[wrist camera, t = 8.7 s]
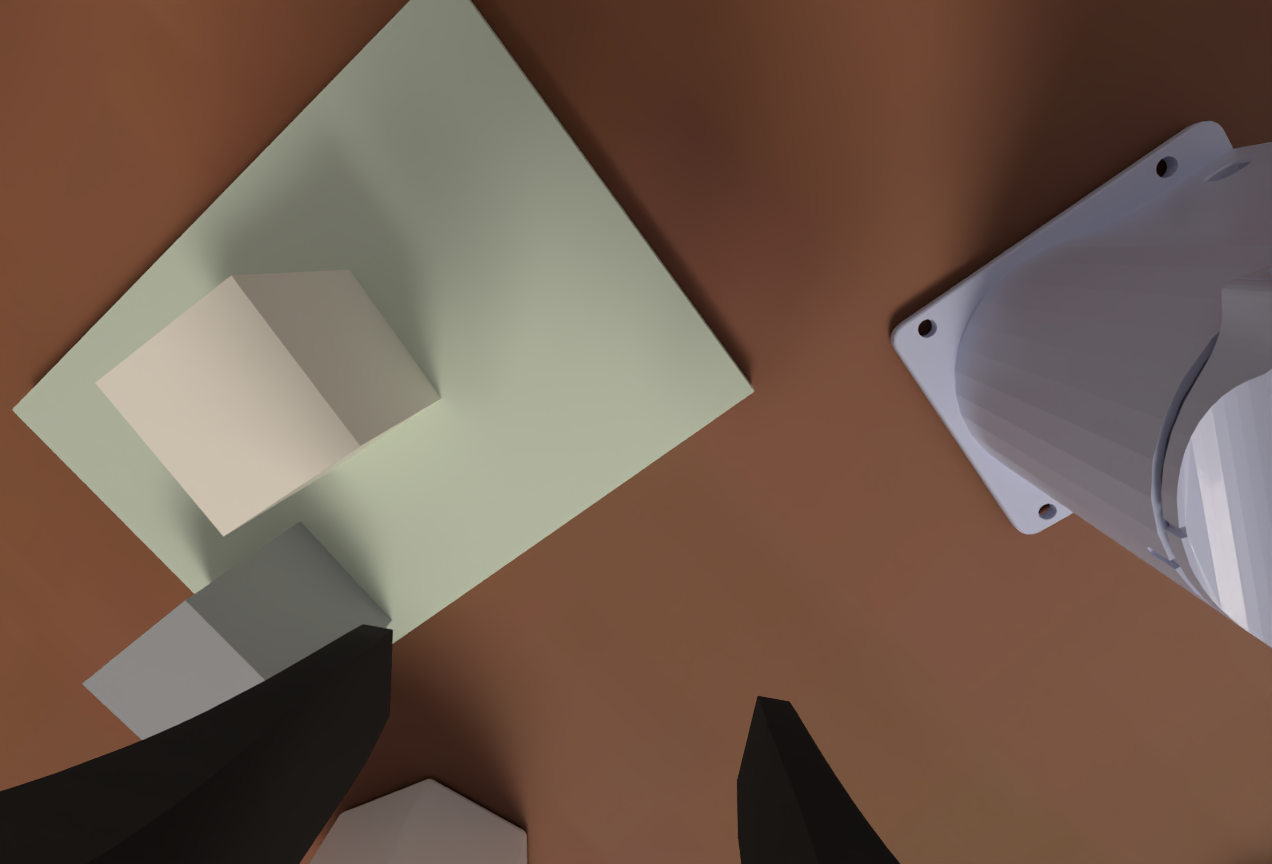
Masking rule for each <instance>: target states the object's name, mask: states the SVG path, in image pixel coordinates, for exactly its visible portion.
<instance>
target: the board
mask: <svg viewBox="0 0 1272 864" xmlns="http://www.w3.org/2000/svg"><path fill="white" fill-rule="evenodd" d="M331 270H350V271H351V272H352V274H353V275H354V277H355V278H356V279H357V281H358V282H359V284H360V285H361V286H362V288H363V289H364V291H365V292H366V293H367V295H368V296H369V298H370V299H371V300H372V302H373V303H374V305H375V306H376V307H377V309H378V310H379V312H380V313H381V314H382V316H383V317H384V319H385V320H386V321H387V323H388V324H389V326H390V327H391V328H392V330H393V331H394V333H395V334H396V335H397V337H398V338H399V340H400V341H401V342H402V344H403V345H404V347H405V348H406V349H407V351H408V352H409V354H410V355H411V356H412V358H413V359H414V361H415V362H416V363H417V365H418V366H419V368H420V369H421V370H422V372H423V373H424V375H425V376H426V377H427V379H428V380H429V382H430V383H431V384H432V386H433V387H434V389H435V390H436V391H437V393H438V394H439V396H440V397H441V398H442V399H440V400H438V401H437V402H435V403H434V404H432V405H431V406H429V407H428V408H426V409H425V410H423V411H422V412H420V413H419V414H417V415H416V416H414V417H413V418H411V419H410V420H408V421H407V422H405V423H404V424H402V425H401V426H399V427H398V428H396V429H395V430H393V431H391V432H390V433H388V434H387V435H385V436H384V437H382V438H381V439H379V440H378V441H376V442H375V443H373V444H372V445H370V446H369V447H367V448H366V449H364V450H363V451H361V452H360V453H358V454H357V455H355V456H354V457H352V458H351V459H349V460H347V461H346V462H344V463H343V464H341V465H340V466H338V467H337V468H335V469H334V470H332V471H331V472H329V473H327V474H326V475H324V476H322V477H321V478H319V479H317V480H316V481H314V482H313V483H311V484H309V485H308V486H306V487H304V488H303V489H301V490H299V491H298V492H296V493H294V494H293V495H291V496H289V497H288V498H286V499H285V500H283V501H281V502H280V503H278V504H276V505H275V506H273V507H271V508H270V509H268V510H266V511H265V512H263V513H262V514H260V515H258V516H257V517H255V518H253V519H252V520H250V521H248V522H247V523H245V524H243V525H242V526H240V527H238V528H237V529H235V530H234V531H232V532H230V533H229V534H227V535H225V536H224V537H223V535H222V534H221V533H220V532H219V531H218V529H217V528H216V527H215V526H214V525H213V523H212V522H211V521H210V520H209V519H208V517H207V516H206V515H205V514H204V513H203V511H202V510H201V509H200V508H199V507H198V505H197V504H196V503H195V502H194V501H193V499H192V498H191V497H190V496H189V495H188V493H187V492H186V491H185V490H184V489H183V487H182V486H181V485H180V484H179V483H178V482H177V480H176V479H175V478H174V477H173V476H172V474H171V473H170V472H169V471H168V470H167V468H166V467H165V466H164V465H163V464H162V462H161V461H160V460H159V459H158V458H157V456H156V455H155V454H154V453H153V452H152V450H151V449H150V448H149V447H148V446H147V444H146V443H145V442H144V441H143V440H142V438H141V437H140V436H139V435H138V434H137V432H136V431H135V430H134V429H133V428H132V426H131V425H130V424H129V423H128V422H127V420H126V419H125V418H124V417H123V416H122V414H121V413H120V412H119V411H118V410H117V408H116V407H115V406H114V405H113V404H112V403H111V401H110V400H109V399H108V398H107V397H106V395H105V394H104V393H103V392H102V391H101V389H100V388H99V387H98V386H97V385H96V383H95V382H97V381H98V380H99V379H100V378H102V377H103V376H104V375H106V374H107V373H108V372H109V371H111V370H112V369H113V368H114V367H116V366H117V365H118V364H119V363H121V362H122V361H123V360H125V359H126V358H127V357H128V356H130V355H131V354H132V353H133V352H135V351H136V350H137V349H138V348H140V347H141V346H142V345H144V344H145V343H146V342H147V341H149V340H150V339H151V338H152V337H154V336H155V335H156V334H158V333H159V332H160V331H161V330H163V329H164V328H165V327H166V326H168V325H169V324H170V323H171V322H173V321H174V320H175V319H177V318H178V317H179V316H180V315H182V314H183V313H184V312H185V311H187V310H188V309H189V308H190V307H192V306H193V305H194V304H196V303H197V302H198V301H199V300H201V299H202V298H203V297H204V296H206V295H207V294H208V293H209V292H211V291H212V290H213V289H215V288H216V287H217V286H218V285H220V284H221V283H222V282H223V281H225V280H226V279H227V278H229V277H230V276H231V275H250V274H270V273H290V272H310V271H331ZM753 392H754V389H753V387H752V385H751V384H750V382H749V381H748V379H747V378H746V377H745V375H744V374H743V373H742V371H741V370H740V368H739V367H738V366H737V364H736V363H735V362H734V360H733V359H732V357H731V356H730V355H729V353H728V352H727V351H726V349H725V348H724V346H723V345H722V344H721V342H720V341H719V340H718V338H717V337H716V335H715V334H714V333H713V331H712V330H711V329H710V327H709V326H708V325H707V323H706V322H705V320H704V319H703V318H702V316H701V315H700V314H699V312H698V311H697V309H696V308H695V307H694V305H693V304H692V303H691V301H690V300H689V298H688V297H687V296H686V294H685V293H684V292H683V290H682V289H681V287H680V286H679V285H678V283H677V282H676V281H675V279H674V278H673V277H672V275H671V274H670V272H669V271H668V270H667V268H666V267H665V266H664V264H663V263H662V261H661V260H660V259H659V257H658V256H657V255H656V253H655V252H654V250H653V249H652V248H651V246H650V245H649V244H648V242H647V241H646V239H645V238H644V237H643V235H642V234H641V233H640V231H639V230H638V229H637V227H636V226H635V224H634V223H633V222H632V220H631V219H630V218H629V216H628V215H627V213H626V212H625V211H624V209H623V208H622V207H621V205H620V204H619V202H618V201H617V200H616V198H615V197H614V196H613V194H612V193H611V191H610V190H609V189H608V187H607V186H606V185H605V183H604V182H603V180H602V179H601V178H600V176H599V175H598V174H597V172H596V171H595V170H594V168H593V167H592V165H591V164H590V163H589V161H588V160H587V159H586V157H585V156H584V154H583V153H582V152H581V150H580V149H579V148H578V146H577V145H576V143H575V142H574V141H573V139H572V138H571V137H570V135H569V134H568V132H567V131H566V130H565V128H564V127H563V126H562V124H561V123H560V122H559V120H558V119H557V117H556V116H555V115H554V113H553V112H552V111H551V109H550V108H549V106H548V105H547V104H546V102H545V101H544V100H543V98H542V97H541V95H540V94H539V93H538V91H537V90H536V89H535V87H534V86H533V84H532V83H531V82H530V80H529V79H528V78H527V76H526V75H525V74H524V72H523V71H522V69H521V68H520V67H519V65H518V64H517V63H516V61H515V60H514V58H513V57H512V56H511V54H510V53H509V52H508V50H507V49H506V47H505V46H504V45H503V43H502V42H501V41H500V39H499V38H498V36H497V35H496V34H495V32H494V31H493V30H492V28H491V27H490V25H489V24H488V23H487V21H486V20H485V19H484V17H483V16H482V15H481V13H480V12H479V10H478V9H477V8H476V6H475V5H474V4H473V2H472V1H471V0H410V1H409V2H408V3H407V4H406V5H405V6H404V7H403V8H402V9H401V10H400V11H399V12H398V13H397V14H396V15H395V16H394V17H393V18H392V19H391V20H390V21H389V23H388V24H387V25H386V26H385V27H384V28H383V29H382V30H381V31H380V32H379V33H378V34H377V35H376V36H375V37H374V38H373V39H372V40H371V41H370V42H369V43H368V44H367V45H366V46H365V47H364V48H363V49H362V50H361V51H360V52H359V53H358V54H357V55H356V56H355V57H354V59H353V60H352V61H351V62H350V63H349V64H348V65H347V66H346V67H345V68H344V69H343V70H342V71H341V72H340V73H339V74H338V75H337V76H336V77H335V78H334V79H333V80H332V81H331V82H330V83H329V84H328V85H327V86H326V87H325V88H324V89H323V90H322V91H321V92H320V93H319V95H318V96H317V97H316V98H315V99H314V100H313V101H312V102H311V103H310V104H309V105H308V106H307V107H306V108H305V109H304V110H303V111H302V112H301V113H300V114H299V115H298V116H297V117H296V118H295V119H294V120H293V121H292V122H291V123H290V124H289V125H288V126H287V127H286V128H285V130H284V131H283V132H282V133H281V134H280V135H279V136H278V137H277V138H276V139H275V140H274V141H273V142H272V143H271V144H270V145H269V146H268V147H267V148H266V149H265V150H264V151H263V152H262V153H261V154H260V155H259V156H258V157H257V158H256V159H255V160H254V161H253V162H252V163H251V164H250V166H249V167H248V168H247V169H246V170H245V171H244V172H243V173H242V174H241V175H240V176H239V177H238V178H237V179H236V180H235V181H234V182H233V183H232V184H231V185H230V186H229V187H228V188H227V189H226V190H225V191H224V192H223V193H222V194H221V195H220V196H219V197H218V198H217V199H216V201H215V202H214V203H213V204H212V205H211V206H210V207H209V208H208V209H207V210H206V211H205V212H204V213H203V214H202V215H201V216H200V217H199V218H198V219H197V220H196V221H195V222H194V223H193V224H192V225H191V226H190V227H189V228H188V229H187V230H186V231H185V232H184V233H183V234H182V235H181V237H180V238H179V239H178V240H177V241H176V242H175V243H174V244H173V245H172V246H171V247H170V248H169V249H168V250H167V251H166V252H165V253H164V254H163V255H162V256H161V257H160V258H159V259H158V260H157V261H156V262H155V263H154V264H153V265H152V266H151V267H150V268H149V269H148V270H147V272H146V273H145V274H144V275H143V276H142V277H141V278H140V279H139V280H138V281H137V282H136V283H135V284H134V285H133V286H132V287H131V288H130V289H129V290H128V291H127V292H126V293H125V294H124V295H123V296H122V297H121V298H120V299H119V300H118V301H117V302H116V303H115V304H114V305H113V306H112V308H111V309H110V310H109V311H108V312H107V313H106V314H105V315H104V316H103V317H102V318H101V319H100V320H99V321H98V322H97V323H96V324H95V325H94V326H93V327H92V328H91V329H90V330H89V331H88V332H87V333H86V334H85V335H84V336H83V337H82V338H81V339H80V340H79V341H78V342H77V344H76V345H75V346H74V347H73V348H72V349H71V350H70V351H69V352H68V353H67V354H66V355H65V356H64V357H63V358H62V359H61V360H60V361H59V362H58V363H57V364H56V365H55V366H54V367H53V368H52V369H51V370H50V371H49V372H48V373H47V374H46V375H45V376H44V377H43V379H42V380H41V381H40V382H39V383H38V384H37V385H36V386H35V387H34V388H33V389H32V390H31V391H30V392H29V393H28V394H27V395H26V396H25V397H24V398H23V399H22V400H21V401H20V402H19V403H18V404H17V405H16V406H15V407H14V408H13V409H12V410H13V411H14V412H15V413H16V414H17V415H18V416H19V417H20V418H21V419H22V420H23V421H24V422H25V423H26V424H27V425H28V426H29V427H30V428H31V429H32V430H33V431H34V432H35V433H36V434H37V435H38V436H39V437H40V438H41V439H42V440H43V441H44V443H45V444H46V445H47V446H48V447H49V448H50V449H51V450H52V451H53V452H54V453H55V454H56V455H57V456H58V457H59V458H60V459H61V460H62V461H63V462H64V463H65V464H66V465H67V466H68V467H69V468H70V469H71V470H72V471H73V472H74V473H75V474H76V475H77V476H78V477H79V478H80V479H81V480H82V481H83V482H84V483H85V484H86V485H87V486H88V487H89V488H90V489H91V490H92V491H93V492H94V493H95V494H96V495H97V496H98V497H99V498H100V499H101V500H102V501H103V502H104V503H105V504H106V505H107V506H108V507H109V508H110V509H111V510H112V511H113V512H114V513H115V514H116V515H117V516H118V517H119V518H120V519H121V520H122V521H123V522H124V523H125V524H126V525H127V526H128V527H129V528H130V529H131V530H132V531H133V532H134V533H135V534H136V535H137V536H138V537H139V538H140V539H141V540H142V541H143V542H144V543H145V544H146V545H147V546H148V547H149V548H150V549H151V550H152V551H153V552H154V553H155V554H156V555H157V556H158V558H159V559H160V560H161V561H162V562H163V563H164V564H165V565H166V566H167V567H168V568H169V569H170V570H171V571H172V572H173V573H174V574H175V575H176V576H177V577H178V578H179V579H180V580H181V581H182V582H183V583H184V584H185V585H186V586H187V587H188V588H189V589H190V590H191V591H192V592H193V593H194V594H195V593H197V592H198V591H200V590H201V589H203V588H204V587H206V586H207V585H208V584H210V583H211V582H213V581H214V580H216V579H217V578H219V577H220V576H222V575H223V574H224V573H226V572H227V571H229V570H230V569H232V568H233V567H235V566H236V565H238V564H239V563H240V562H242V561H243V560H245V559H246V558H248V557H249V556H251V555H252V554H253V553H255V552H256V551H258V550H259V549H261V548H262V547H264V546H265V545H267V544H268V543H269V542H271V541H272V540H274V539H275V538H277V537H278V536H280V535H281V534H283V533H284V532H285V531H287V530H288V529H290V528H291V527H293V526H294V525H296V524H297V523H299V522H301V523H302V524H303V525H304V526H305V527H306V528H307V529H308V530H309V531H310V532H311V534H312V535H313V536H314V537H315V538H316V539H317V540H318V541H319V542H320V543H321V544H322V545H323V546H324V548H325V549H326V550H327V551H328V552H329V553H330V554H331V555H332V556H333V557H334V558H335V559H336V560H337V562H338V563H339V564H340V565H341V566H342V567H343V568H344V569H345V570H346V571H347V572H348V573H349V575H350V576H351V577H352V578H353V579H354V580H355V581H356V582H357V583H358V584H359V585H360V586H361V587H362V589H363V590H364V591H365V592H366V593H367V594H368V595H369V596H370V597H371V598H372V599H373V600H374V601H375V603H376V604H377V605H378V606H379V607H380V608H381V609H382V610H383V611H384V612H385V613H386V614H387V615H388V617H389V618H390V619H391V620H392V621H391V622H390V623H389V625H388V626H387V627H386V628H387V629H393V642H392V644H393V643H394V642H396V641H397V640H399V639H400V638H402V637H403V636H404V635H406V634H407V633H409V632H410V631H412V630H413V629H414V628H416V627H417V626H419V625H420V624H422V623H423V622H425V621H426V620H427V619H429V618H430V617H432V616H433V615H435V614H436V613H437V612H439V611H440V610H442V609H443V608H445V607H446V606H447V605H449V604H450V603H452V602H453V601H455V600H456V599H458V598H459V597H460V596H462V595H463V594H465V593H466V592H468V591H469V590H470V589H472V588H473V587H475V586H476V585H478V584H479V583H480V582H482V581H483V580H485V579H486V578H488V577H489V576H490V575H492V574H493V573H495V572H496V571H498V570H499V569H501V568H502V567H503V566H505V565H506V564H508V563H509V562H511V561H512V560H513V559H515V558H516V557H518V556H519V555H521V554H522V553H523V552H525V551H526V550H528V549H529V548H531V547H532V546H533V545H535V544H536V543H538V542H539V541H541V540H542V539H544V538H545V537H546V536H548V535H549V534H551V533H552V532H554V531H555V530H556V529H558V528H559V527H561V526H562V525H564V524H565V523H566V522H568V521H569V520H571V519H572V518H574V517H575V516H576V515H578V514H579V513H581V512H582V511H584V510H585V509H587V508H588V507H589V506H591V505H592V504H594V503H595V502H597V501H598V500H599V499H601V498H602V497H604V496H605V495H607V494H608V493H609V492H611V491H612V490H614V489H615V488H617V487H618V486H620V485H621V484H622V483H624V482H625V481H627V480H628V479H630V478H631V477H632V476H634V475H635V474H637V473H638V472H640V471H641V470H642V469H644V468H645V467H647V466H648V465H650V464H651V463H652V462H654V461H655V460H657V459H658V458H660V457H661V456H663V455H664V454H665V453H667V452H668V451H670V450H671V449H673V448H674V447H675V446H677V445H678V444H680V443H681V442H683V441H684V440H685V439H687V438H688V437H690V436H691V435H693V434H694V433H695V432H697V431H698V430H700V429H701V428H703V427H704V426H706V425H707V424H708V423H710V422H711V421H713V420H714V419H716V418H717V417H718V416H720V415H721V414H723V413H724V412H726V411H727V410H728V409H730V408H731V407H733V406H734V405H736V404H737V403H739V402H740V401H741V400H743V399H744V398H746V397H747V396H749V395H750V394H751V393H753Z"/></svg>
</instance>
